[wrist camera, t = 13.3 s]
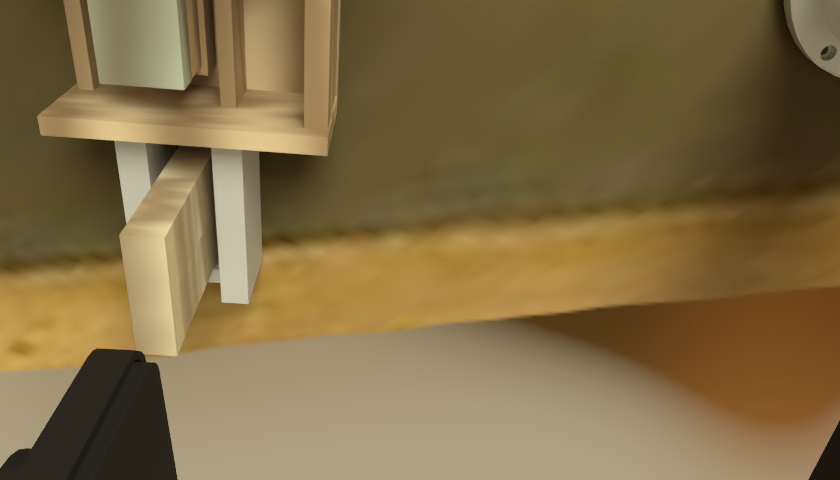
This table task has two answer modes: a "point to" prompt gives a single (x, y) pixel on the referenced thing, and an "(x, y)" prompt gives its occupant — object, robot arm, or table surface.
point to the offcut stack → (152, 41)
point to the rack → (219, 85)
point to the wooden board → (171, 251)
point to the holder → (232, 206)
